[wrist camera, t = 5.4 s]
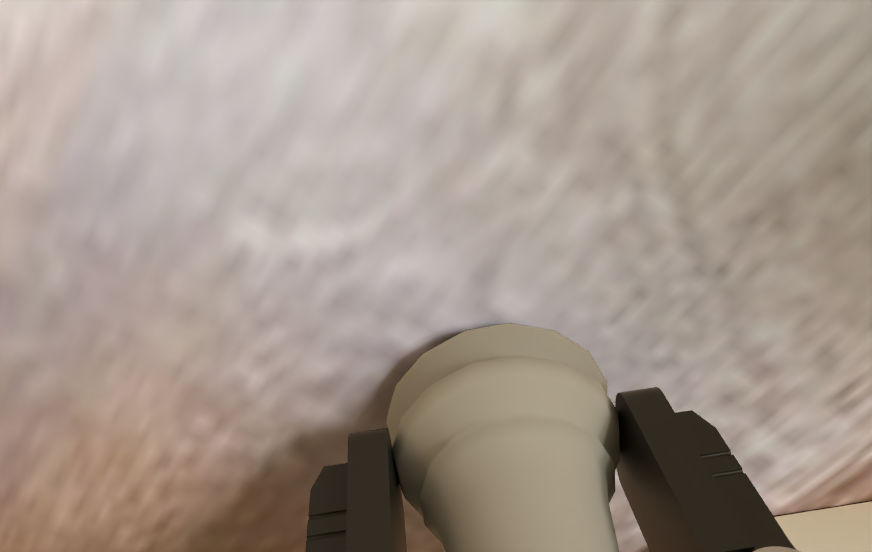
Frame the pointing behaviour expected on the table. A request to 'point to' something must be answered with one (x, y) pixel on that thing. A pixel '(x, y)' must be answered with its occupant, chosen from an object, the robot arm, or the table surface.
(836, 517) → the carrier plate
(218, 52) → the table surface
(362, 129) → the table surface
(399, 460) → the rook chess piece
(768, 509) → the robot arm
